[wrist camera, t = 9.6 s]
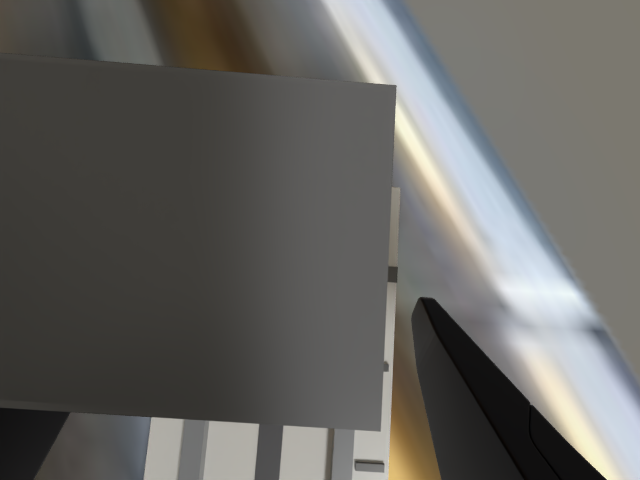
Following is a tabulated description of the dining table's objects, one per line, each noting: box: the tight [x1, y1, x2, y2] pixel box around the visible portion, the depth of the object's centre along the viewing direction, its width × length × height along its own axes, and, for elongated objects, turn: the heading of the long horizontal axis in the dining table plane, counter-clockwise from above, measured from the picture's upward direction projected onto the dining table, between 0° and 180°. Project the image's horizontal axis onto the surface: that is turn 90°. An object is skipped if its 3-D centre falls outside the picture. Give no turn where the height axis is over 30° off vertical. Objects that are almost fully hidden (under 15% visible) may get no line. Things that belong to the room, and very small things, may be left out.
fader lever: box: [0, 53, 396, 432], centre depth 8 cm, size 3×4×11 cm
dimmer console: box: [144, 187, 400, 480], centre depth 14 cm, size 20×10×3 cm, turn 176°
